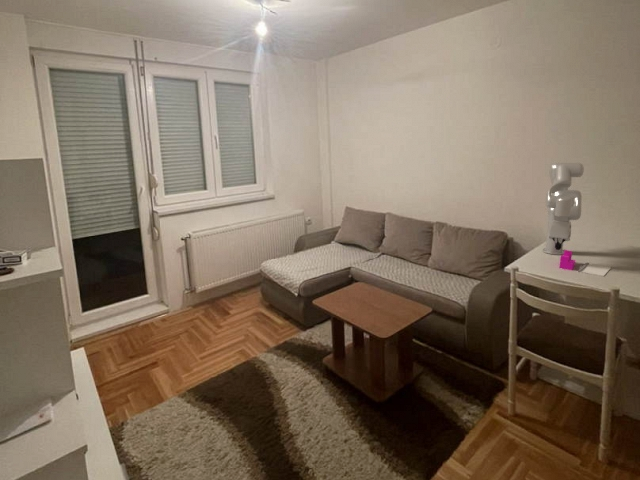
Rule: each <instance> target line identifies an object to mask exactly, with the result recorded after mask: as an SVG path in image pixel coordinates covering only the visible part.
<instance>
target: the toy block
mask: <svg viewBox="0 0 640 480" xmlns="http://www.w3.org/2000/svg"><path fill="white" fill-rule="evenodd" d="M572 255H573V251H572V250H566V249H565V250H564V254H562V255H560V260H559V266H558V267H559V269H560V268H562V269H561V270H568V271H573V270H574V267H575V266H576V260H575V259H572Z"/></svg>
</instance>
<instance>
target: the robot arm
mask: <svg viewBox="0 0 640 480" xmlns="http://www.w3.org/2000/svg"><path fill="white" fill-rule="evenodd" d="M583 175H584V165H583V163H581V162H555V163H552V164H551V165H550V166H549V178H550V181H551V184H552V185H551V186H550V187H549V188H548V189H547V191H546V193H545V206H546V208H548V210H547V211H548V213H547V214H548V215H547V216H548V224H547V234H546V242H545V247H544V248H542V252H543V253H545V254H548V255H555V256H556V255H558V256H561V255H564V251H565V250H563V249H564V242H570V241H571V235H572V222H571V221H577V220H579V219H580V218H581V216H582V198H583V197H582V193H581V191H580V190H577V189H569V188H570V187H571V186H572V178H581V177H582V176H583Z"/></svg>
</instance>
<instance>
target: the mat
mask: <svg viewBox="0 0 640 480" xmlns="http://www.w3.org/2000/svg"><path fill="white" fill-rule="evenodd" d="M611 269H612V268H611V267H609V266H604V265H597V264H592V263H591V264H590V262H586V263H585V264H583V265H582V266H581V267H580V268H578V273H584V274H589V275H594V276H601V277H604V276H606V274H607V273H608V272H609V271H610V270H611Z"/></svg>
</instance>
